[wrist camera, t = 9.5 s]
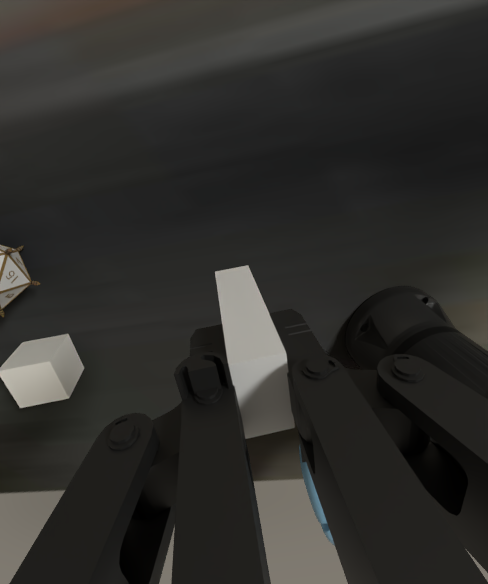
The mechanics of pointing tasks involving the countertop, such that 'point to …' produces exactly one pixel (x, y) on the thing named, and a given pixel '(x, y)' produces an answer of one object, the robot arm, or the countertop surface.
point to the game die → (12, 276)
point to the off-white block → (42, 371)
